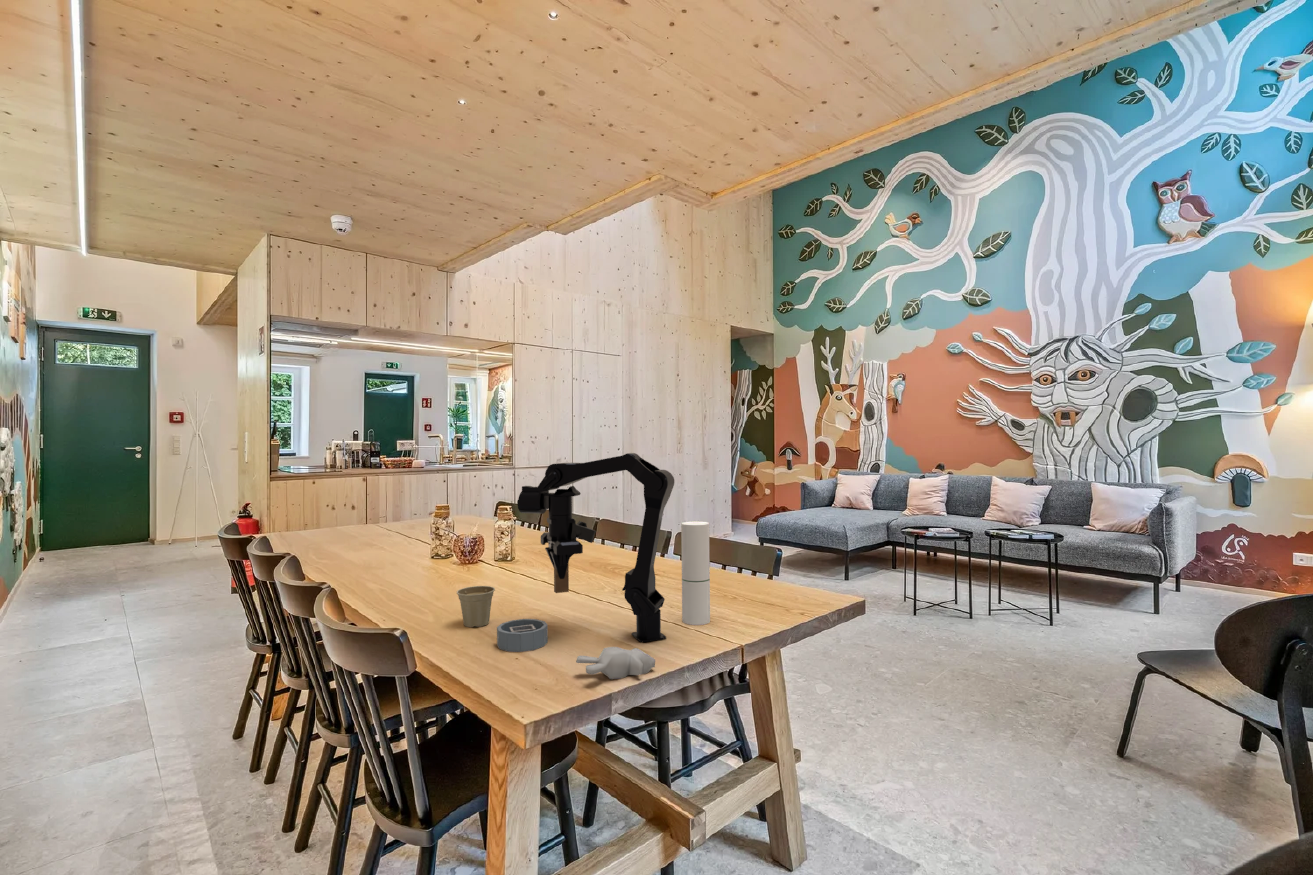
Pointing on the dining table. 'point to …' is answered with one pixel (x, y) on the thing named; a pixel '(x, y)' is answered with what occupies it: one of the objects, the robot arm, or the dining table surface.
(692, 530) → the cylindrical container
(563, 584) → the brown rectangular block
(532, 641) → the blue-grey round dish
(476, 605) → the flower pot
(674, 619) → the dining table surface
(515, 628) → the clip
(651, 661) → the bunny figurine
